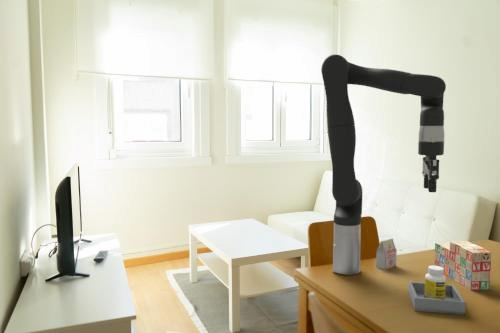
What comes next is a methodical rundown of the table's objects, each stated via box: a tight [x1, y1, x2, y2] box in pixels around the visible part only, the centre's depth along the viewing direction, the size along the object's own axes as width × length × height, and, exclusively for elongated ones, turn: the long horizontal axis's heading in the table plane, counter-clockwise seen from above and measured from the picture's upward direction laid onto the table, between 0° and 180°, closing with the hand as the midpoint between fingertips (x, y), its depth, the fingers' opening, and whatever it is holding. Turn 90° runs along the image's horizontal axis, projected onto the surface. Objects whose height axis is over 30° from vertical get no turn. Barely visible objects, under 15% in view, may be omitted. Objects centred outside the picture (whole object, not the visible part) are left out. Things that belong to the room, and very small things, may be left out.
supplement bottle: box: [424, 265, 447, 300], centre depth 113 cm, size 5×5×10 cm
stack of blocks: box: [434, 240, 492, 291], centre depth 132 cm, size 21×6×12 cm, turn 4°
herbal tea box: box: [375, 238, 397, 271], centre depth 144 cm, size 4×7×10 cm, turn 125°
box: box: [407, 280, 466, 316], centre depth 113 cm, size 13×13×4 cm
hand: (429, 190), depth 128 cm, fingers open, 8 cm apart
